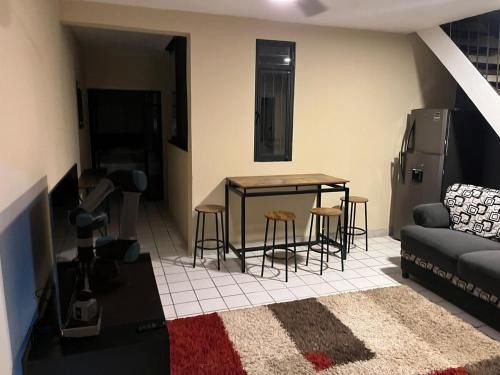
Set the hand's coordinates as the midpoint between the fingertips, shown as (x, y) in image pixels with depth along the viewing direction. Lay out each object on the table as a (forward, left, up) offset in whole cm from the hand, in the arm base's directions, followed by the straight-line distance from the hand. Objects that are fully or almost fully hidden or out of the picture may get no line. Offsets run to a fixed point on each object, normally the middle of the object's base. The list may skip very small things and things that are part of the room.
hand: (86, 289), depth 199 cm
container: (+12, 0, -9) cm, 15 cm away
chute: (+18, 0, -9) cm, 20 cm away
